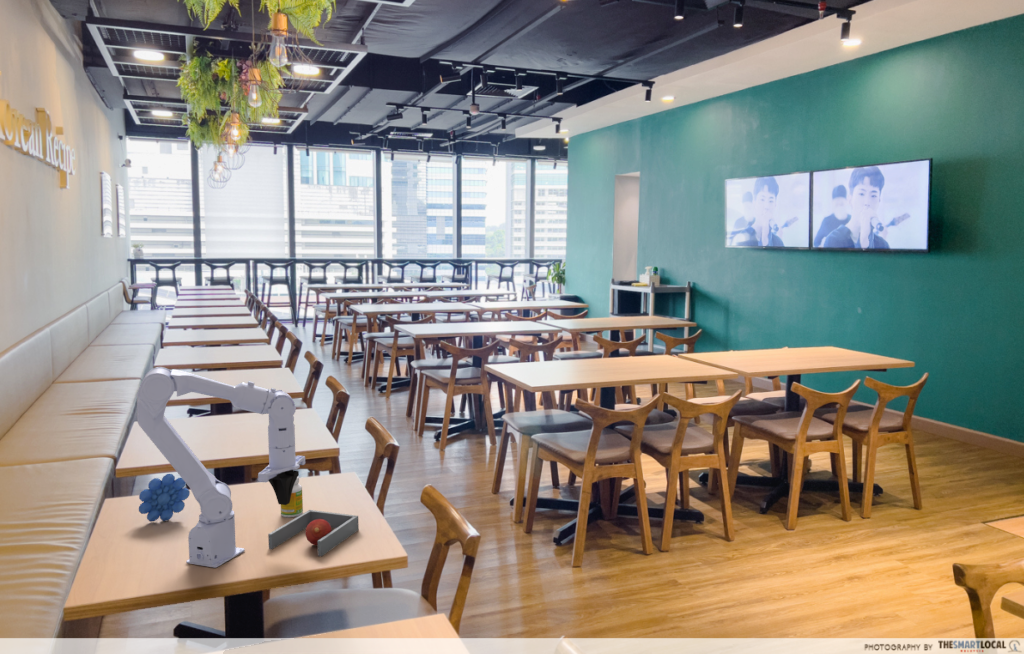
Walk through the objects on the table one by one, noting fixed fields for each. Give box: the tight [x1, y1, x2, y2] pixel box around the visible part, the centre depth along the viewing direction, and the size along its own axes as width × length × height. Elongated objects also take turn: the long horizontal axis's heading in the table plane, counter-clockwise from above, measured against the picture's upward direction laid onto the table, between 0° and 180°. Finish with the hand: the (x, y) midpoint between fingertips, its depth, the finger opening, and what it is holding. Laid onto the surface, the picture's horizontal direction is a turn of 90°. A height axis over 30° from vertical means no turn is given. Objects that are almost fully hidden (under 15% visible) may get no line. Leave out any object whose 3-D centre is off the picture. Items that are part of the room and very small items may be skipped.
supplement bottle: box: [280, 475, 304, 518], centre depth 181 cm, size 5×5×10 cm
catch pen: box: [267, 509, 360, 557], centre depth 165 cm, size 16×14×4 cm
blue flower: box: [138, 473, 191, 523], centre depth 177 cm, size 12×7×12 cm, turn 111°
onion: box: [304, 519, 333, 546], centre depth 162 cm, size 6×6×8 cm
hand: (283, 503), depth 161 cm, fingers closed
